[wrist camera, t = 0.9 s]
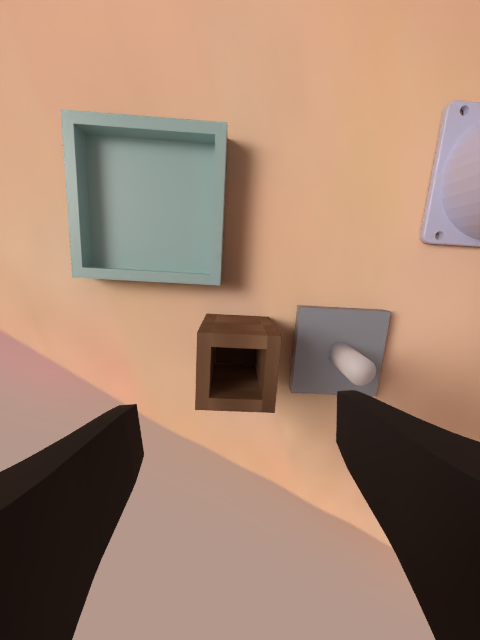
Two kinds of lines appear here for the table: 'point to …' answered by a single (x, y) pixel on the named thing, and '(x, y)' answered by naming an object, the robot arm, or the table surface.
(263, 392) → the walnut ring block
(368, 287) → the table surface
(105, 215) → the tray
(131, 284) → the table surface
